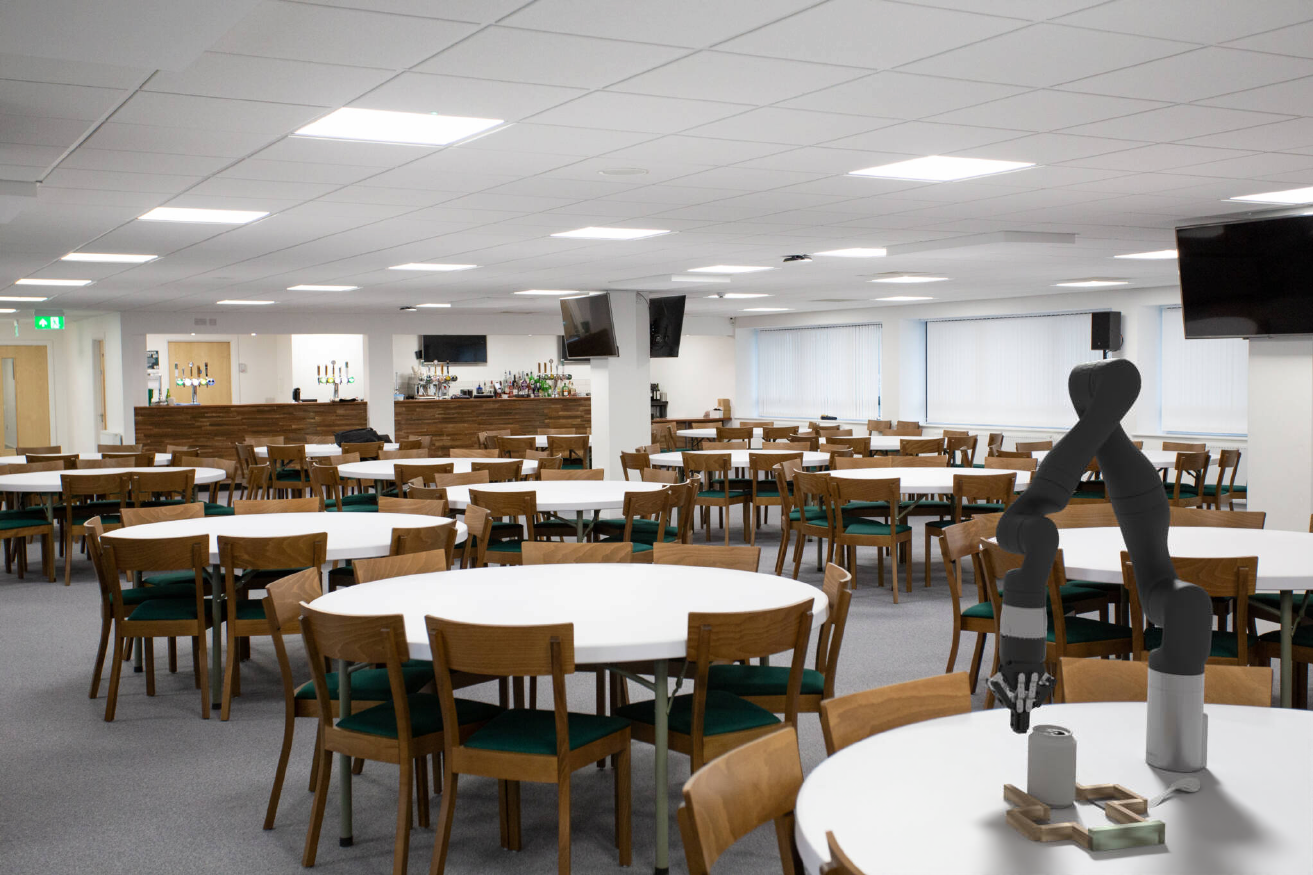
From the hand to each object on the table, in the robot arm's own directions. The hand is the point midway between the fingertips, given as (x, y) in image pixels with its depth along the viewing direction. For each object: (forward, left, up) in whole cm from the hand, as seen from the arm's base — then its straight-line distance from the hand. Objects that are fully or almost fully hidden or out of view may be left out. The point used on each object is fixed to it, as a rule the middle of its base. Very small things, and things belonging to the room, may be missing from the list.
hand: (1019, 732), depth 190 cm
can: (0, +9, -9) cm, 13 cm away
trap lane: (0, +16, -9) cm, 19 cm away
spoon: (-20, +12, -10) cm, 25 cm away
